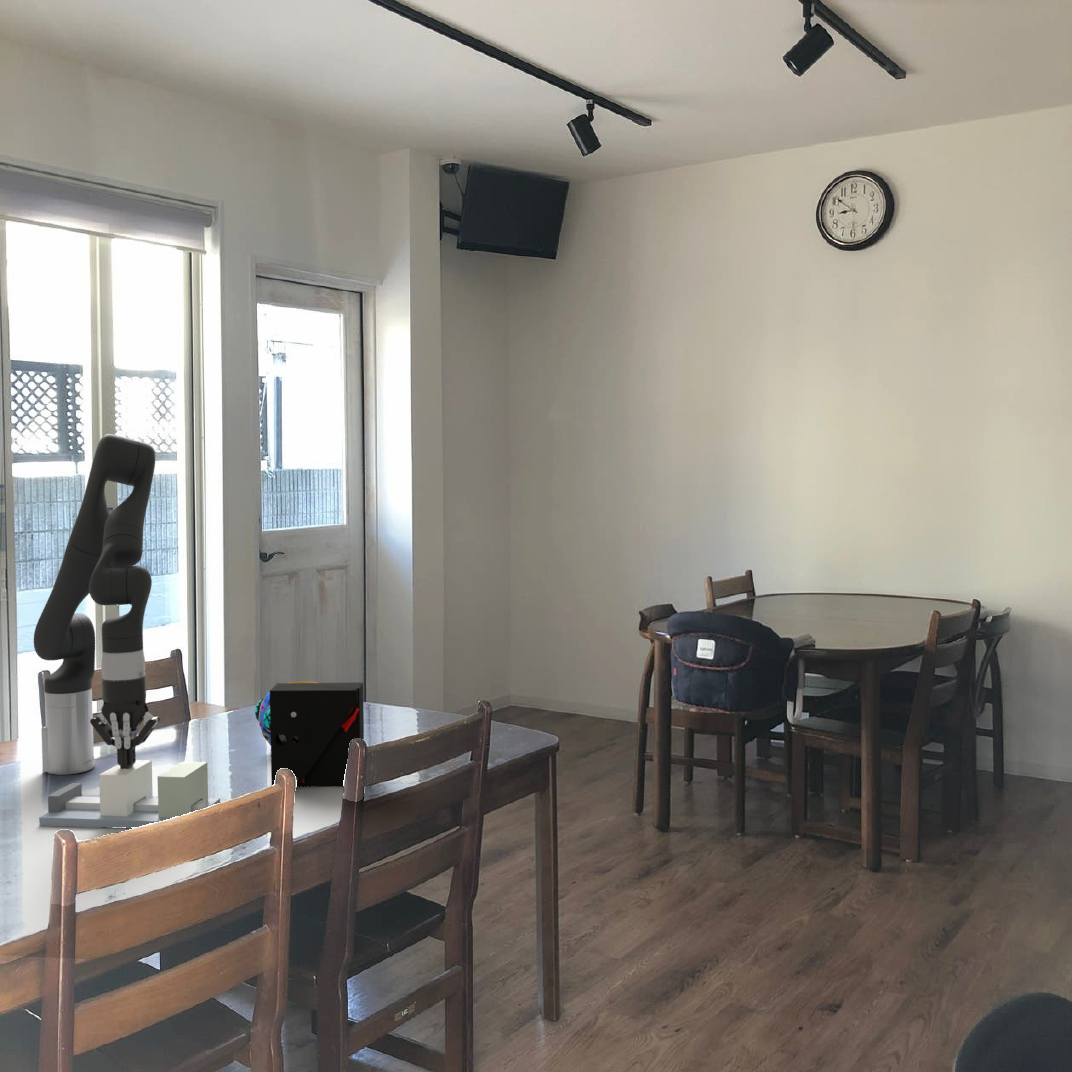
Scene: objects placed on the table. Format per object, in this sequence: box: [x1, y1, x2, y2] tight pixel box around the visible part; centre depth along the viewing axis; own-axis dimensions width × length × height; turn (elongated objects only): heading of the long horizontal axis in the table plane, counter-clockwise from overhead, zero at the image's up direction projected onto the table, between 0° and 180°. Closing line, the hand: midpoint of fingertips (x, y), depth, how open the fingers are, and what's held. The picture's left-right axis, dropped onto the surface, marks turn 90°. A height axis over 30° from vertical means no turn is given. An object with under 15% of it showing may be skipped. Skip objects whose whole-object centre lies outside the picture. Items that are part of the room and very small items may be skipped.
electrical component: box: [269, 681, 365, 789], centre depth 218 cm, size 18×10×20 cm, turn 92°
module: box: [98, 759, 154, 816], centre depth 198 cm, size 5×10×8 cm, turn 173°
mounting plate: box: [38, 760, 221, 829], centre depth 197 cm, size 28×14×9 cm, turn 84°
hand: (126, 767), depth 197 cm, fingers closed
